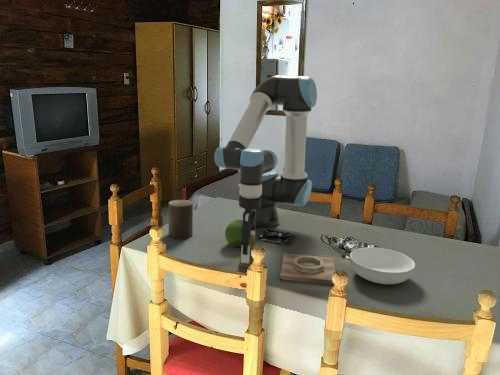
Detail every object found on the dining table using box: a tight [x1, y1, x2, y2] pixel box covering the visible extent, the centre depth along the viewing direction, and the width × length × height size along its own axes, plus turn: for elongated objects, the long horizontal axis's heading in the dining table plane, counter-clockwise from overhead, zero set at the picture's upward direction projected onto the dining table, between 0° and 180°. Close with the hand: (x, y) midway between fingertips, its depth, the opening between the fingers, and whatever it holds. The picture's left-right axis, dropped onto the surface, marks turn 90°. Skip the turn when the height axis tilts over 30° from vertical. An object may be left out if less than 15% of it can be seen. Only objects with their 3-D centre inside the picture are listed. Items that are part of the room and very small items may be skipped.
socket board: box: [279, 252, 336, 286], centre depth 144 cm, size 18×18×3 cm
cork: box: [238, 234, 257, 269], centre depth 145 cm, size 6×6×11 cm
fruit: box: [224, 219, 243, 248], centre depth 164 cm, size 15×10×10 cm, turn 161°
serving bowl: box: [349, 246, 416, 285], centre depth 140 cm, size 21×21×7 cm
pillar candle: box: [168, 199, 194, 240], centre depth 170 cm, size 10×10×15 cm
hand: (247, 254), depth 146 cm, fingers open, 12 cm apart
